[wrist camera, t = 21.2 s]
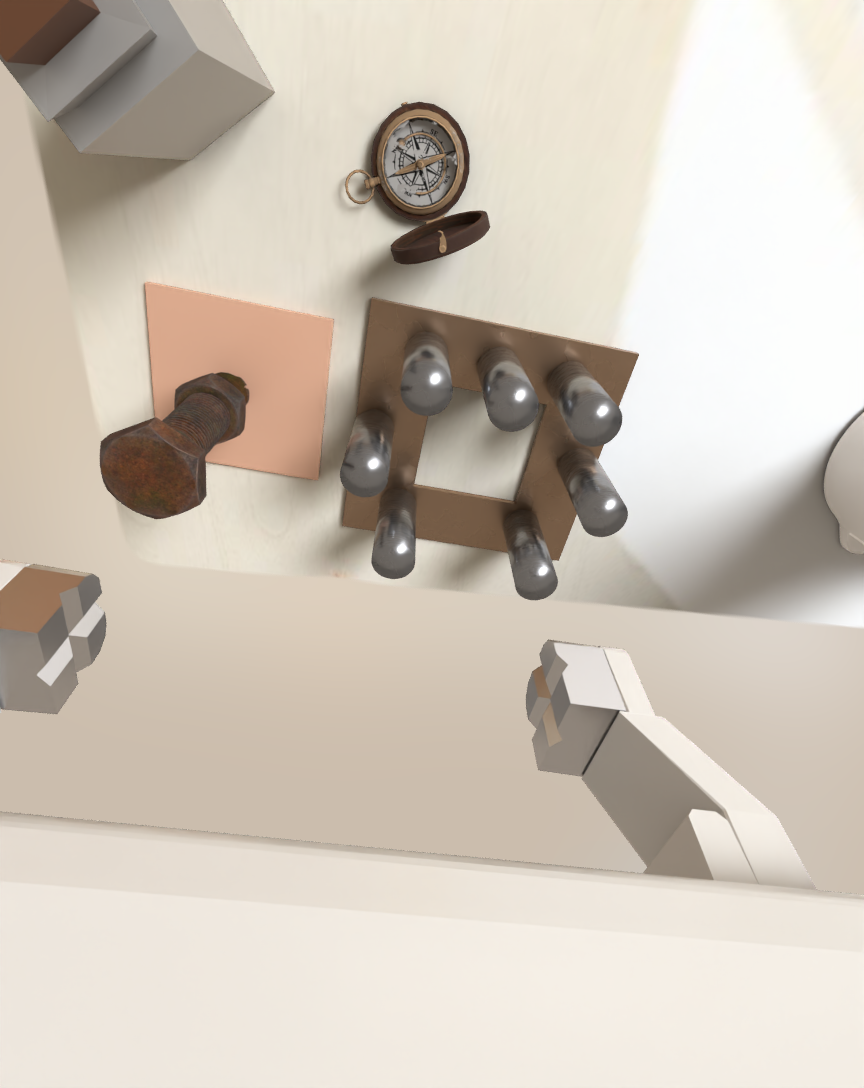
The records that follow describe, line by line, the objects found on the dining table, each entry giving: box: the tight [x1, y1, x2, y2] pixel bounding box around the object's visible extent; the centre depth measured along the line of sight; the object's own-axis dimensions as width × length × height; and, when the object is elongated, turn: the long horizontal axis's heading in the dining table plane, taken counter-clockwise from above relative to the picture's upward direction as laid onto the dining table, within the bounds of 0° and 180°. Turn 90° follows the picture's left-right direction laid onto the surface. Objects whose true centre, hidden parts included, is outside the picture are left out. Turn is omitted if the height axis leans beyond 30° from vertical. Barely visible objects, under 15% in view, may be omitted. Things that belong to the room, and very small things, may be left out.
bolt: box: [100, 372, 250, 519], centre depth 37 cm, size 6×5×15 cm
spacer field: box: [340, 297, 639, 600], centre depth 42 cm, size 20×19×9 cm
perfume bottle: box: [0, 0, 275, 160], centre depth 25 cm, size 7×7×18 cm
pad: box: [145, 282, 334, 480], centre depth 43 cm, size 13×13×1 cm
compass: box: [345, 102, 490, 264], centre depth 33 cm, size 8×8×7 cm
